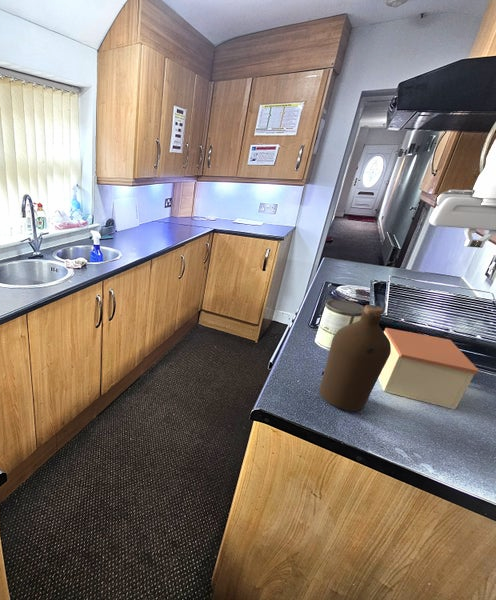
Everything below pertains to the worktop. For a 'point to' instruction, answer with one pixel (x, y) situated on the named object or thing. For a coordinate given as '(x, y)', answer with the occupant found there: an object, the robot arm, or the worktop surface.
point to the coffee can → (336, 319)
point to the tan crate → (423, 380)
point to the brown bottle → (355, 361)
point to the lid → (429, 350)
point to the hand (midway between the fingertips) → (472, 246)
